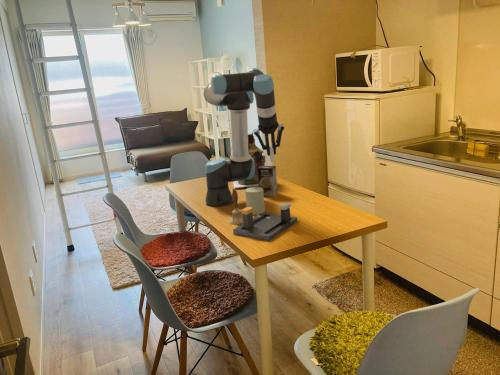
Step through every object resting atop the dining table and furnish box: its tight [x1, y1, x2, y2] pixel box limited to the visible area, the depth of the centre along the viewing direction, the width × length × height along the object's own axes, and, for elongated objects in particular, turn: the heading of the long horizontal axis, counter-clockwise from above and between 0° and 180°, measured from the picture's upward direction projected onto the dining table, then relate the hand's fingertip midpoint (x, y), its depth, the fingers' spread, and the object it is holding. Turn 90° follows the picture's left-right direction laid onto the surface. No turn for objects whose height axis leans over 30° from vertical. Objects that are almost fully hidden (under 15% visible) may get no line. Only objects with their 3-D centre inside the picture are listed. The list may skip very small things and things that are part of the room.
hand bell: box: [228, 188, 243, 226], centre depth 186 cm, size 8×8×16 cm
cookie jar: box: [232, 131, 266, 189], centre depth 249 cm, size 25×25×32 cm
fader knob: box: [240, 206, 254, 229], centre depth 175 cm, size 3×5×9 cm
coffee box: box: [258, 165, 278, 197], centre depth 224 cm, size 9×6×16 cm
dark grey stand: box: [232, 202, 298, 242], centre depth 177 cm, size 18×24×10 cm
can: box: [244, 186, 266, 216], centre depth 199 cm, size 9×9×12 cm
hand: (272, 160), depth 175 cm, fingers closed
